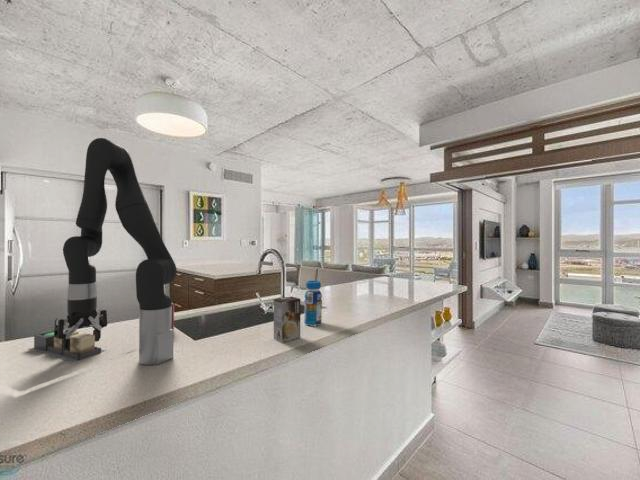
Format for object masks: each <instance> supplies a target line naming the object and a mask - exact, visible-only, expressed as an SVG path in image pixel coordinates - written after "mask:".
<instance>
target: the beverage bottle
mask: <svg viewBox="0 0 640 480" xmlns="http://www.w3.org/2000/svg"><path fill="white" fill-rule="evenodd" d="M321 284H322V283H321V281H319V280H307V281H306V285H305V286H306V289H307V290H306V291H305V293H304V300H303V301H304V302H303V304H304V319H303V323H304V325H305V324H306V326H308V325H310V326H309V327H314V326H313V325H318V326H320V325H322V316H323V315H322V312H323V311H322V308H323V300H322V298H323V294H322V292H321V291H320V289H321V286H322V285H321ZM319 324H320V325H319Z"/></svg>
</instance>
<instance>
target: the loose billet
mask: <svg viewBox="0 0 640 480" xmlns="http://www.w3.org/2000/svg"><path fill="white" fill-rule="evenodd" d="M95 344H96V342H95V335H93V334H90V333H86V332H81V333H78V334H77V335H73V336H70V352H72V353H76V354H83V353H86V352H89V351H92V350H95V347H96V345H95Z"/></svg>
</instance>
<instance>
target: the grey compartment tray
mask: <svg viewBox="0 0 640 480" xmlns="http://www.w3.org/2000/svg"><path fill="white" fill-rule="evenodd" d="M51 332H54V329H53V330H49V331H45V332H41V333H37V334H34V335H33V339H34V340H33V347H31V348H27V350H29V351H31V352H35V353H39V354H42V355H45V356H46V355H47V356H49V357H51V358H52V357H53V358H56V359H59V360H63V361H65V362H66V361H67V362H70V363H75V362H78V361H81V360H83V359H87V358H90V357H92V356H96V355H98V354H100V353H105V352H106V351H107V350H105V349H102V348H101V347H98V346H95V350H92V351H89V352H86V353H83V354H76V353H72V352H70V350H67V351H66V350H61V349H58V348H54V335H53V336H49V337H47V336H44V335H45V334H47V333H51Z"/></svg>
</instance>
